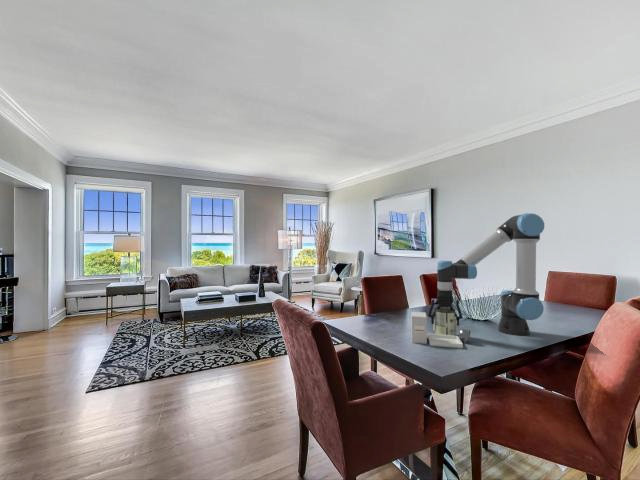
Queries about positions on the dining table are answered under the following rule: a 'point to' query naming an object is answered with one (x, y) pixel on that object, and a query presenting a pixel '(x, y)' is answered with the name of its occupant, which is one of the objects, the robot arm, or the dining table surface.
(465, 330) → the cartridge
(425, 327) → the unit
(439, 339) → the tray
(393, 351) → the dining table surface
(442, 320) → the coffee can
